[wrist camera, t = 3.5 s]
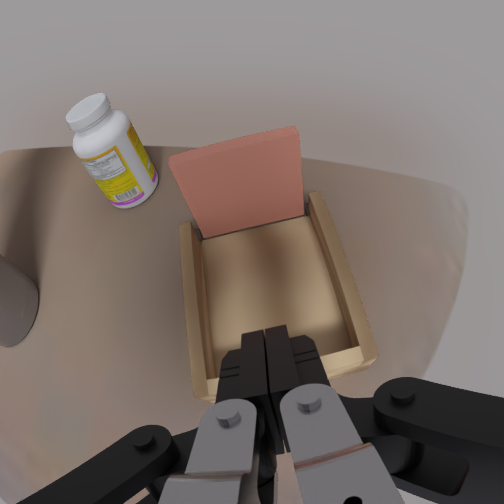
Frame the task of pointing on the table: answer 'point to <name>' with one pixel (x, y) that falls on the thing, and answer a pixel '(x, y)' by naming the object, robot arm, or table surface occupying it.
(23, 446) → the table surface
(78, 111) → the supplement bottle
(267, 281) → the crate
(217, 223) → the panel
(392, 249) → the table surface
